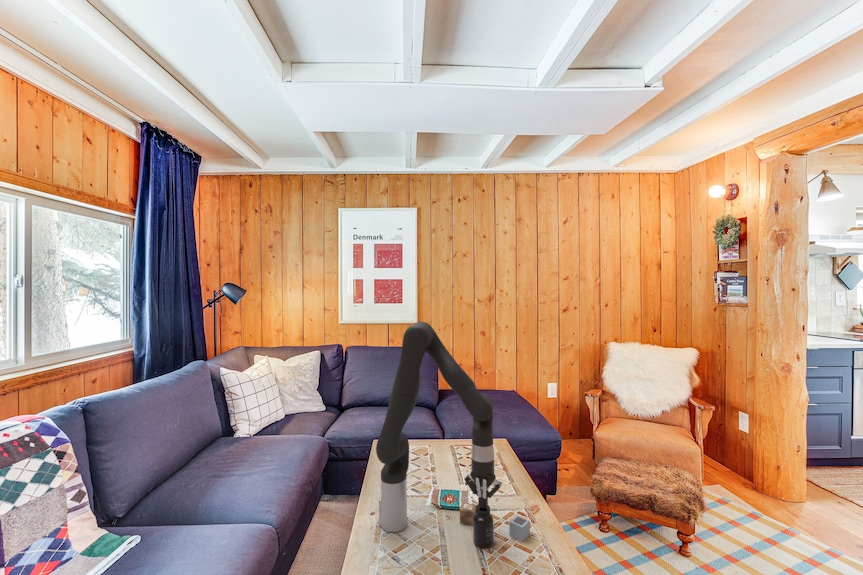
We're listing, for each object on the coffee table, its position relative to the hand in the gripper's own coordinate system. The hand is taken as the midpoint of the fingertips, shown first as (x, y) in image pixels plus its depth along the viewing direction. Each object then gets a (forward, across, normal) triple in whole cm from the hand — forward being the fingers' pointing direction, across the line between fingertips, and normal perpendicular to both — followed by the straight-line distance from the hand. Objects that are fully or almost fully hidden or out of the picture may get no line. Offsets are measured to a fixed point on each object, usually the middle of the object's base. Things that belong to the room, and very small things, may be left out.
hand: (483, 507), depth 133 cm
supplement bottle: (+12, 0, 0) cm, 12 cm away
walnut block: (+12, -9, +9) cm, 18 cm away
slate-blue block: (+12, +10, +9) cm, 18 cm away
